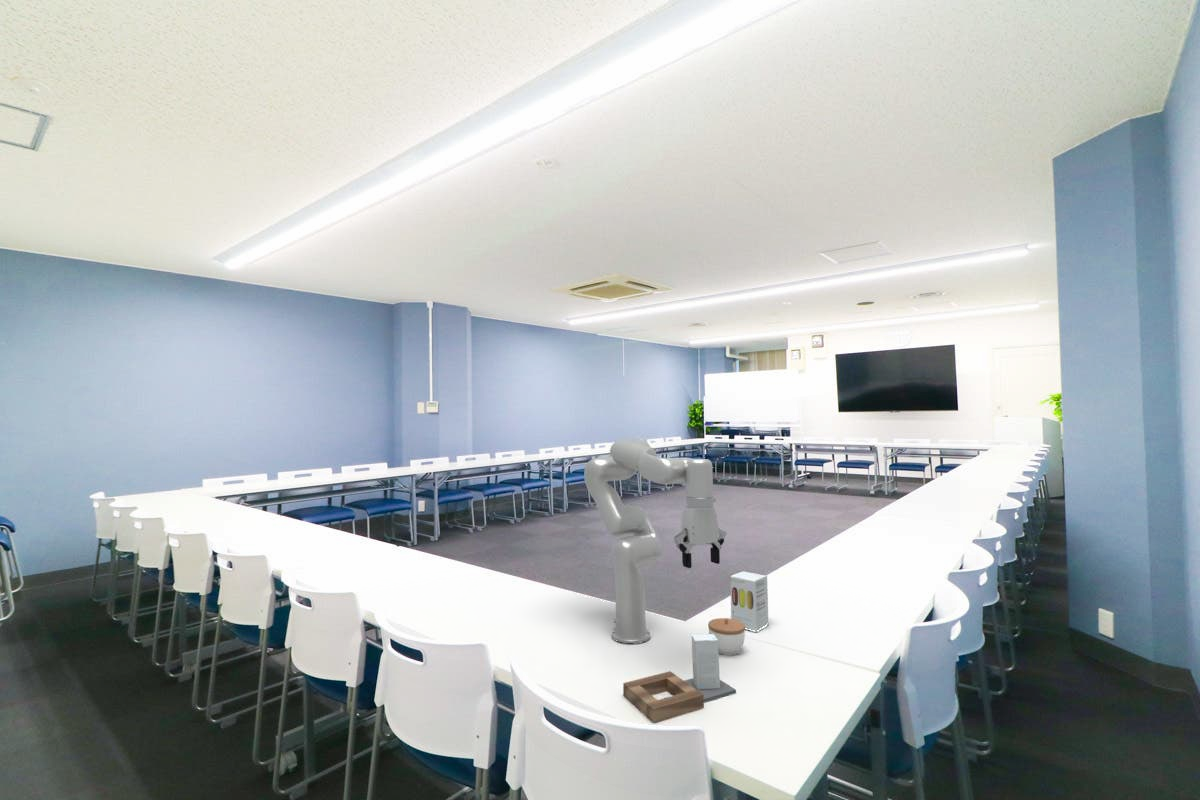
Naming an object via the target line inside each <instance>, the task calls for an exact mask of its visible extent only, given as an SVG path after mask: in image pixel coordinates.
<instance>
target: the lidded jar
mask: <svg viewBox="0 0 1200 800" xmlns="http://www.w3.org/2000/svg"><path fill="white" fill-rule="evenodd" d="M707 626H708V634H714V635H715V637H716V638H717V639H718V652H719V654H721V653H722V654H721V655H724V654H728V655H727V656H733V655H732V654H734V655H737V654H738V653H737V652H739V651H740V650H741V649H742V648H743V645H744V642H745V639H746V638H745V637H746V636H745V635H746V634H745V633H746V630H745V625H744V624H743V623H742V622H740V621H737V620H734V619H731V618H728V617H727V618H726V617H722V618H721V617H720V618H714V619H711V620H710V621H709V622H708V624H707ZM736 653H737V654H736Z"/></svg>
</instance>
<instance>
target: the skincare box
mask: <svg viewBox="0 0 1200 800" xmlns="http://www.w3.org/2000/svg"><path fill="white" fill-rule="evenodd" d="M691 654H692V657H691V658H692V678H693V682H694V684H695V686H696V688H697V690H699V689H719V688H720V680H721V679H720V655H719V654H720V653H719V652H718V639H717V638H716V637H715V635H714V634H709V633H708V634H707V633H706V634H691Z"/></svg>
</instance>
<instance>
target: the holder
mask: <svg viewBox="0 0 1200 800" xmlns="http://www.w3.org/2000/svg"><path fill="white" fill-rule="evenodd" d="M622 691H623V697H625V699H626V700H627V701H629V703H631V704H632V705H633V706H634V707H635V708H636V709H637V710H639V711H640V712H641V713H642V714H643V715H644V716H645V717H646V718H647V719H649V720H650V721H651V722H652V723H653V724H655V723H656V724H657V723H659V722H662V721H666V720H669V719H671V718H675V717H679V716H682V715H685V714H688V713H692V712H697V711H699V710H702V709H704V708H705V702H704V695H703V694H702V693H700V692H699V691H698V690H696V689H695V688H693V687H692V686H691V685H689V684H688V683H686V682H685V681H684V679H682V678H681V677H679V676H678V675H676V674H675V673H674V672H672V671H671V670H669V671H666V672H661V673H658V674H657V673H656V674H654V675H649V676H645V677H643V678H638V679H634V680H633V679H632V680H630V681H626V682H623V690H622ZM665 692H669V693H670V694H671V695H670V696H667V697H664V698H661V699H657V698H656V697H654V695H657V694H660V693H665Z"/></svg>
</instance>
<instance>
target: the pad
mask: <svg viewBox="0 0 1200 800" xmlns="http://www.w3.org/2000/svg"><path fill="white" fill-rule="evenodd" d="M683 681H685V682H686V683H688V684H689V685H691V686H692V687H693V688H695V689H696V690H697V688H696V686H695V684H694V682H693V677H692V678H689V679H685V680H684V679H683ZM698 691H699V692H700V693H702V694H703V695H704V703H706V702H711V701H713V700H717V699H720V698H724V697H727V696H731V695H735V694H736V693H737V689H736V688H734V687H732V686H731V685H729V684H728V683H726V682H725V681H723V680H721V679H720V688H719V689H699V690H698Z"/></svg>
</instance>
